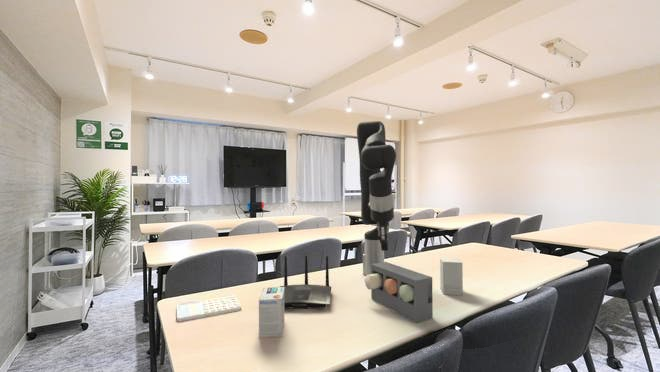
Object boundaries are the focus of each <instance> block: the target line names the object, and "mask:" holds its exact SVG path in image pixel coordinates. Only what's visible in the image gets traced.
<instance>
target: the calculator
mask: <svg viewBox="0 0 660 372" xmlns="http://www.w3.org/2000/svg"><path fill="white" fill-rule="evenodd" d="M238 311H242V305H241V303H240V302H239V300H238V298H237V296H236V295H232V294H231V295H228V296H227V295H226V296H222V297H221V296H220V297H215V298H209V299H203V300H196V301H190V302H183V303H178V304H177V305H176V321H177V322H184V321H191V320H195V319H201V318H206V317H211V316H218V315H222V314H223V315H224V314H227V313H234V312H238Z"/></svg>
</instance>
